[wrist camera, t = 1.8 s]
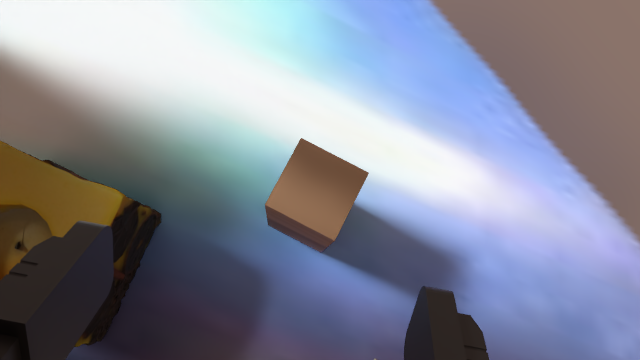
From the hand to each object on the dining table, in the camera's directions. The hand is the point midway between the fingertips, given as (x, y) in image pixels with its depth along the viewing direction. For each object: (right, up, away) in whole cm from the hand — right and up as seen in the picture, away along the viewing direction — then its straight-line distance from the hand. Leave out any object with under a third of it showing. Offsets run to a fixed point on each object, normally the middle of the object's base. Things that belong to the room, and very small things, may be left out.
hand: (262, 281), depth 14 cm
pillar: (+1, 0, +27) cm, 27 cm away
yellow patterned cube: (-17, -3, +25) cm, 30 cm away
